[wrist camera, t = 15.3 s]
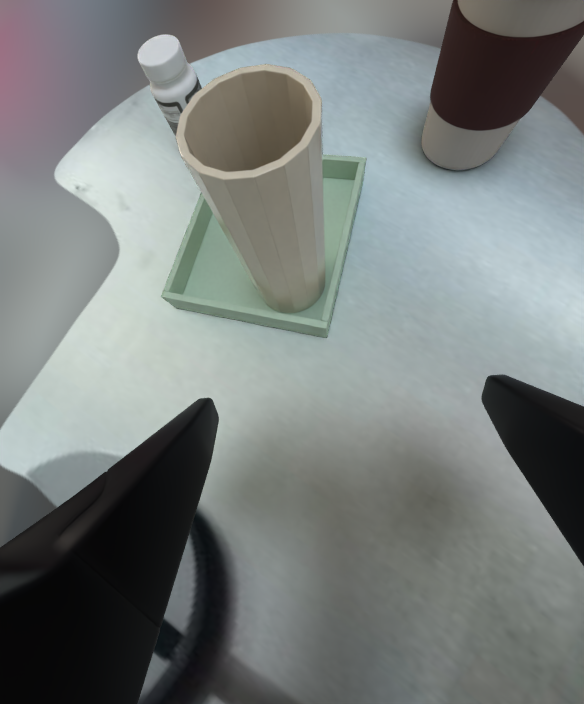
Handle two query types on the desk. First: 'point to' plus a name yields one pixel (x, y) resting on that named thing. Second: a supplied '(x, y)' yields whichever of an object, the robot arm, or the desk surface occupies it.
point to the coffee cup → (494, 73)
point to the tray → (231, 278)
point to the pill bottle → (168, 76)
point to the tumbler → (263, 176)
